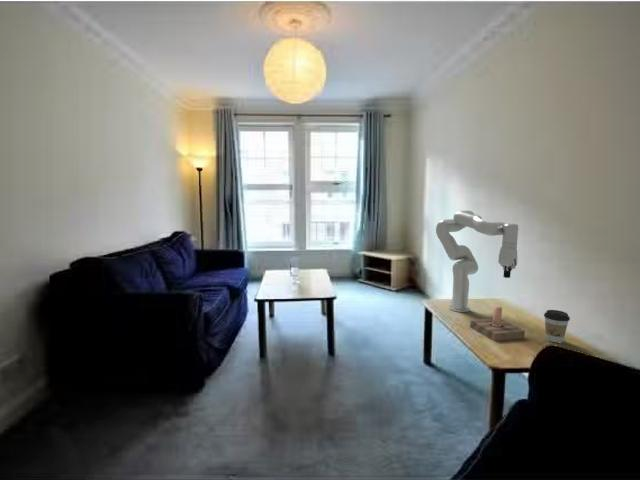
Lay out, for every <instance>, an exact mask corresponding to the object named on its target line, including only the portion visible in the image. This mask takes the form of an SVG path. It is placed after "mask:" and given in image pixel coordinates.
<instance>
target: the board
mask: <svg viewBox="0 0 640 480" xmlns="http://www.w3.org/2000/svg"><path fill="white" fill-rule="evenodd" d="M469 322H470V324H469V328H471V329H473V330H475V331H476V332H478V333H479V334H482V335H483V336H485V337H487V338H488V339H490V340H492V341H493V342H495V341H496V342H497V341H508V340H520V339H525V332H526V331H525V330H524V329H522V328H519V327H517V326H516V325H514V324H511V323H509V322H507V321H505V320H503V319H501V327H494V326H492V324H493V318H484V319H470V321H469Z"/></svg>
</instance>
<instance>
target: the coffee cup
mask: <svg viewBox="0 0 640 480" xmlns="http://www.w3.org/2000/svg"><path fill="white" fill-rule="evenodd" d="M543 317H544V322H545V323H544V325H545V338H546V339H547V340H546V341H547V342H549V341H551V342H550V343H552V342H562V343H563V342H564V340H565V335H566V331H567V327H568V324H569V321H570V320H571V317H570V316H569V314H568V312H565V311H563V310H557V309H548V310H546V312H544V314H543Z"/></svg>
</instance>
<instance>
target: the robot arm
mask: <svg viewBox="0 0 640 480" xmlns="http://www.w3.org/2000/svg"><path fill="white" fill-rule="evenodd" d="M482 218H483V217H482V216H480V215H478V214H475V213H474V212H473V211H471V210H458V211H456V212H455V213H454V215H453V219H452V218H450V219H449V218H448V219H442V220H440V221H438V222H437V224H436V226H435V233H436V237H437V238H438V239H439V242H440V243H441V244H442V247H443V250H444V251H445V253H446V255H447V257H448V258H449V260H450V261H456V262H454V264H453V265H452V275H453V276H452V277H453V280H452V281H453V283H452V300H450V301H449V302H450V303H451V305H449V308H448V309H449V310H451V311H453V312H459V313H469V312H470V311H471V308H470V307H469V305H468V304H469V291H470V279H469V277H468V276H469V275H474V274H476V273H477V272H478V270H479V264H478V261H477V260H476V258H475V256H474V255H473V253H472V250H471V249H470V247H468V246H467V245H464V244H461V245H460V244H458V243H457V241H456V239H455V238H454V236H453V235H452V234H451V233H456V232H459V231H461V230H463V229H465V228H470V229H473V230H474V231H476V232H478V233H481V234H483V235H487V236H491V237H494V236H502V242H501V247H500V250H499V253H498V264H499V266H501V267H502V270H503V278H505V279H508V278H511V272H512V270H515V269H516V266H518V249H517V247H518V237H519V224H517V223H507V222H502V221H495V222H493V221H492V222H490V221H487V220H484V219H482Z"/></svg>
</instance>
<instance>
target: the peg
mask: <svg viewBox="0 0 640 480" xmlns="http://www.w3.org/2000/svg"><path fill="white" fill-rule="evenodd" d="M502 312H503V307H502V306H497V305H494V306H493V313H492V314H493V315H492V319H493V324H492V326H494V327H501V320H502V317H503V316H502V315H503V314H502Z"/></svg>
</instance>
